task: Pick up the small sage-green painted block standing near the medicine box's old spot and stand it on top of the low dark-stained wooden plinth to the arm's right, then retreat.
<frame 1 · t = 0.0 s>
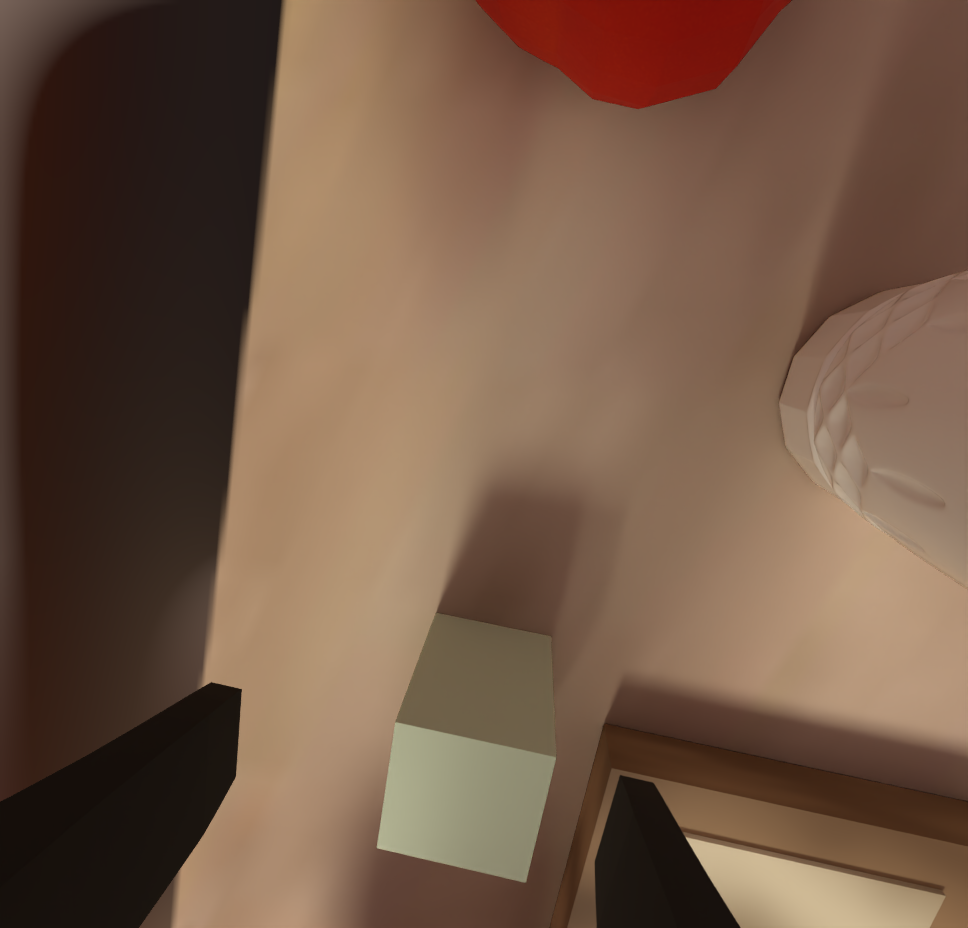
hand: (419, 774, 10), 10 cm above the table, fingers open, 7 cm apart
sage block: (483, 674, 21), on the table
white cup: (883, 398, 17), on the table
plinth: (733, 898, 22), on the table
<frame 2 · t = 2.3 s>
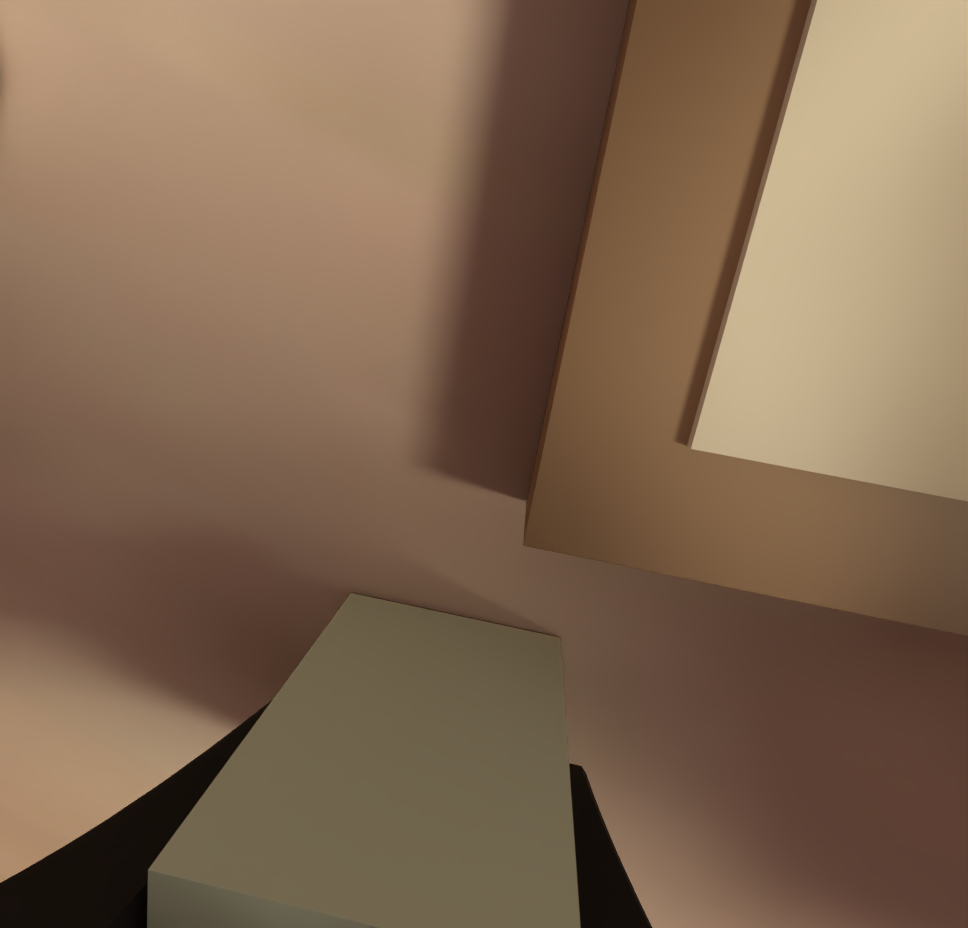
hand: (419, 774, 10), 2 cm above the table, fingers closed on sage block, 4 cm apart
sage block: (438, 704, 12), on the table, touching gripper
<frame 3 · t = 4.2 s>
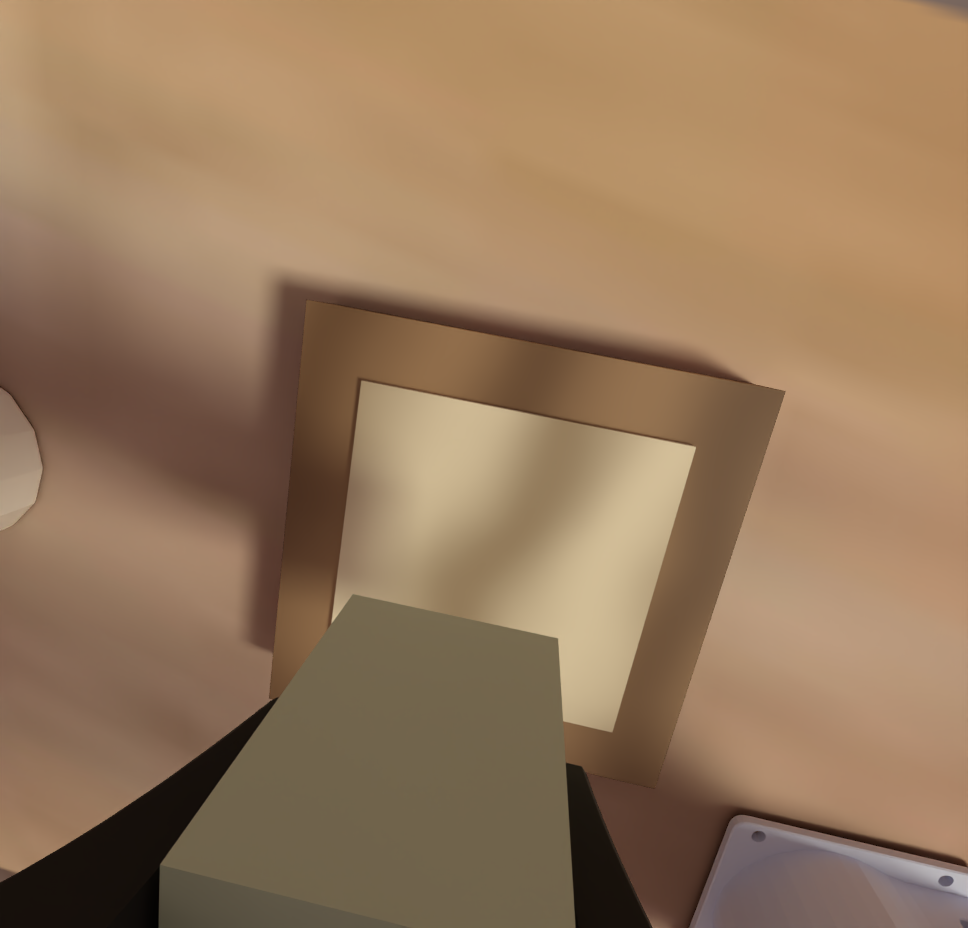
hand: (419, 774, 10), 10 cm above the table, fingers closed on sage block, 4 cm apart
sage block: (438, 703, 12), point 8 cm above the table, touching gripper
plinth: (499, 538, 19), on the table
when the fingers open (5 cm above the table, at t = 6.1 s): sage block stays where it is, resting on plinth.
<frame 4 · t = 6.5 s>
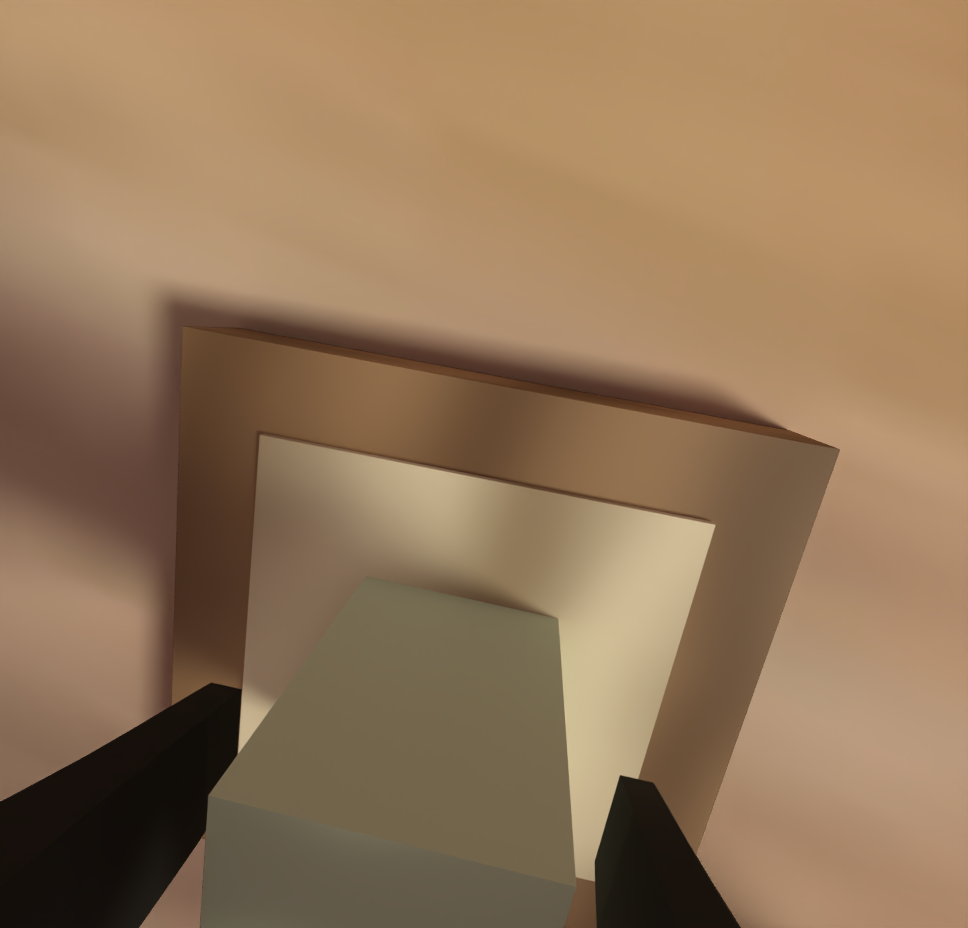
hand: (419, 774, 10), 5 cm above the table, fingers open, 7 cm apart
sage block: (445, 680, 13), point 2 cm above the table, touching plinth
plinth: (460, 623, 15), on the table
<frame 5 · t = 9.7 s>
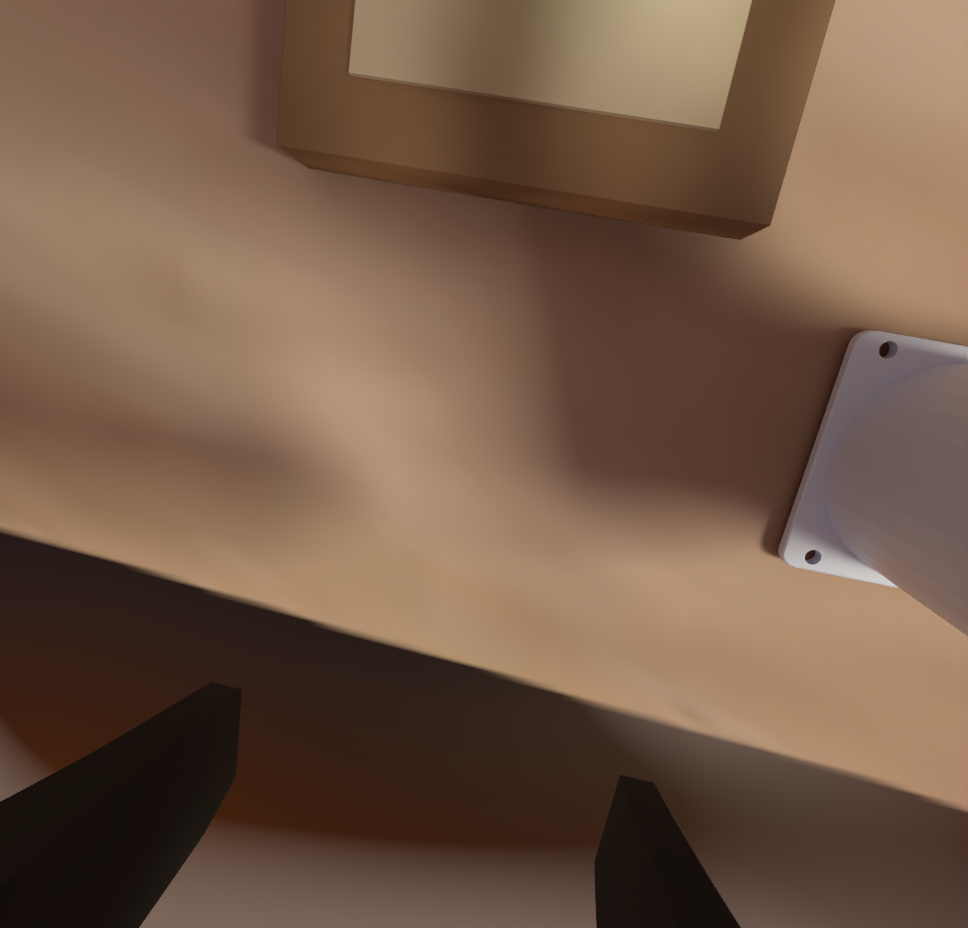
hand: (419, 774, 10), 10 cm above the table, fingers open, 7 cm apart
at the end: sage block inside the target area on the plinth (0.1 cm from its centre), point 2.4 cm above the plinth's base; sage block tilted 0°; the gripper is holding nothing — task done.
